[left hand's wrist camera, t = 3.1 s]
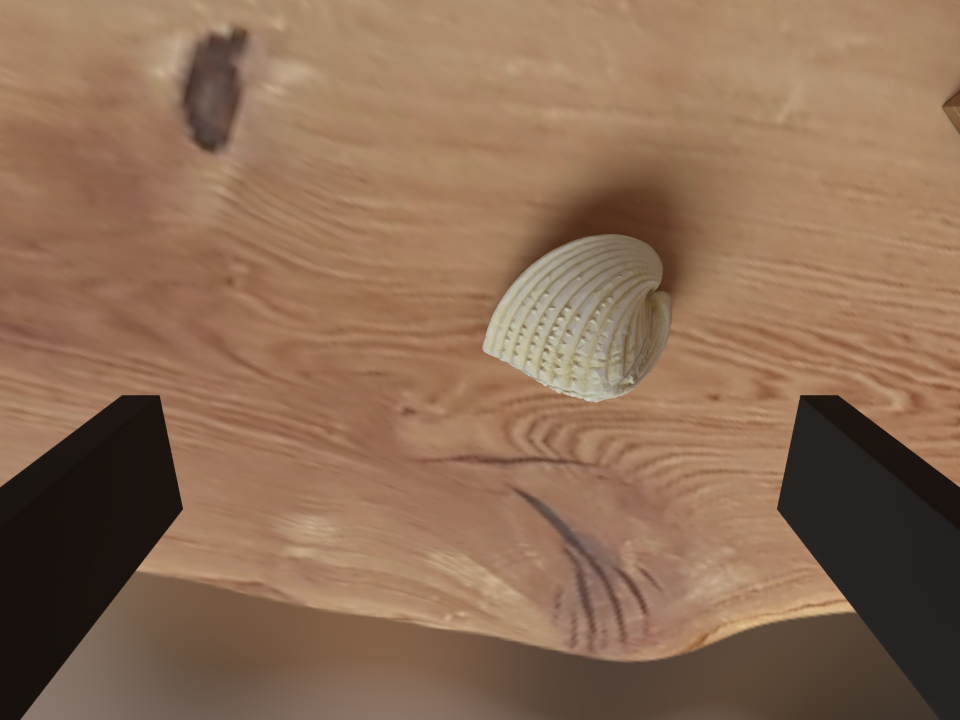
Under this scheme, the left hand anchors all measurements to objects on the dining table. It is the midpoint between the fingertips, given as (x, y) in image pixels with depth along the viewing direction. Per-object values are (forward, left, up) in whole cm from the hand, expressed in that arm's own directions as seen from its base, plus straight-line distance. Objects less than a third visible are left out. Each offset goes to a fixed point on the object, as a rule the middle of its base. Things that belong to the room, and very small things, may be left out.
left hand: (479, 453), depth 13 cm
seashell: (+2, +5, -21) cm, 21 cm away
